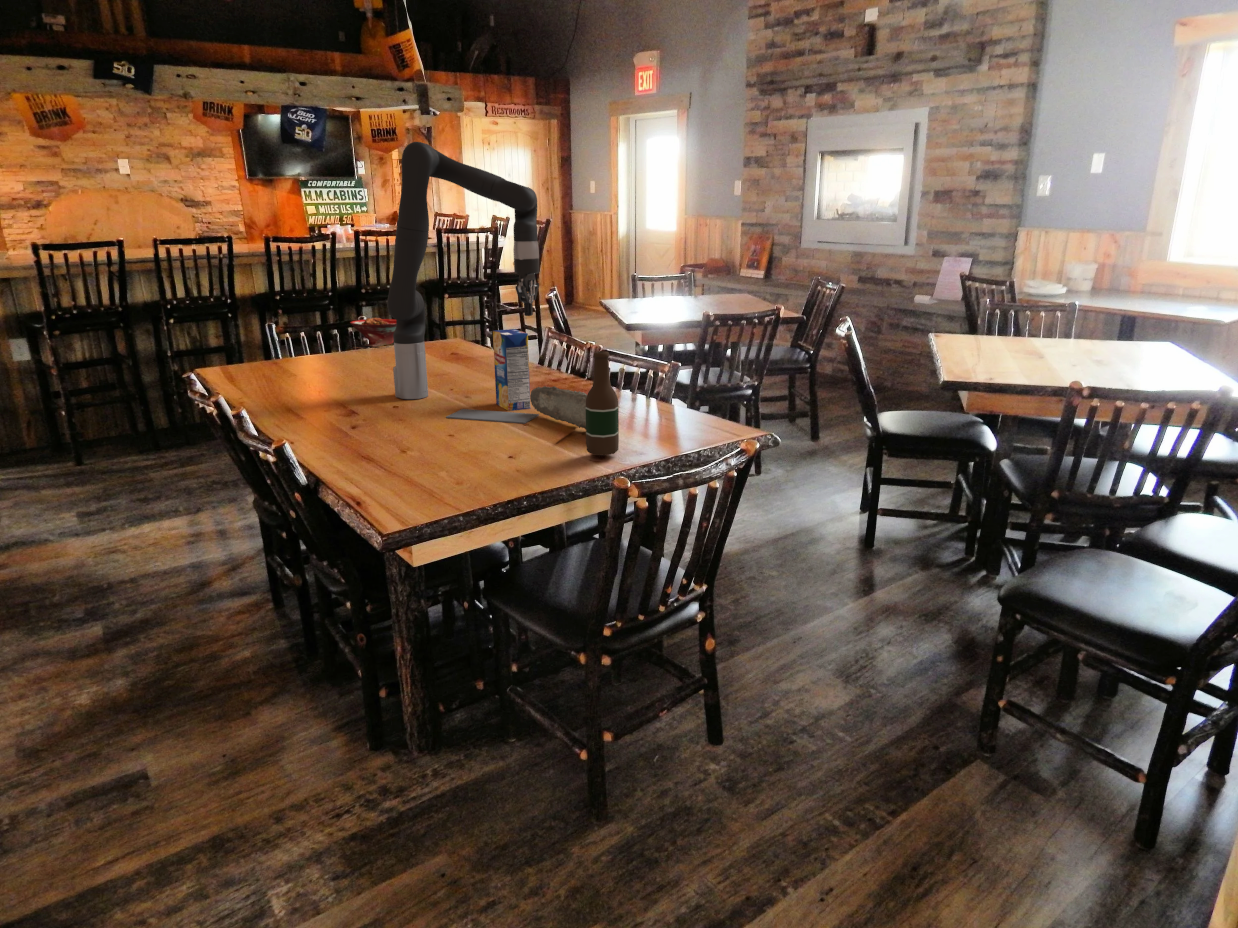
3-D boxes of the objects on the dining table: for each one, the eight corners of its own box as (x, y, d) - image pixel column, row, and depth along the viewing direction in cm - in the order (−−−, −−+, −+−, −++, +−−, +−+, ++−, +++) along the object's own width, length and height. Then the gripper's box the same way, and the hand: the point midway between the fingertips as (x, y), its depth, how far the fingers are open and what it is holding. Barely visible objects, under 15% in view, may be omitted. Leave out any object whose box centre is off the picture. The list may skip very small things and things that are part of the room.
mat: (445, 418, 231) (445, 416, 231) (462, 410, 240) (462, 408, 240) (524, 423, 224) (524, 422, 224) (538, 415, 234) (538, 414, 233)
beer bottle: (585, 447, 201) (583, 349, 194) (617, 446, 202) (616, 348, 195) (587, 456, 194) (585, 354, 187) (620, 455, 195) (619, 354, 188)
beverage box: (508, 411, 239) (505, 335, 233) (496, 403, 248) (492, 330, 242) (530, 408, 242) (527, 333, 236) (517, 401, 251) (514, 329, 245)
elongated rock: (524, 416, 234) (523, 381, 231) (540, 413, 237) (538, 379, 234) (604, 439, 208) (604, 401, 206) (620, 436, 212) (620, 398, 209)
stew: (425, 346, 360) (423, 309, 355) (402, 355, 337) (399, 315, 332) (366, 344, 365) (362, 308, 360) (339, 353, 342) (335, 314, 337)
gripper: (523, 256, 253) (525, 313, 258) (505, 258, 241) (508, 318, 246) (546, 256, 251) (548, 313, 256) (529, 258, 239) (531, 318, 244)
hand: (528, 315), depth 251 cm, fingers closed
